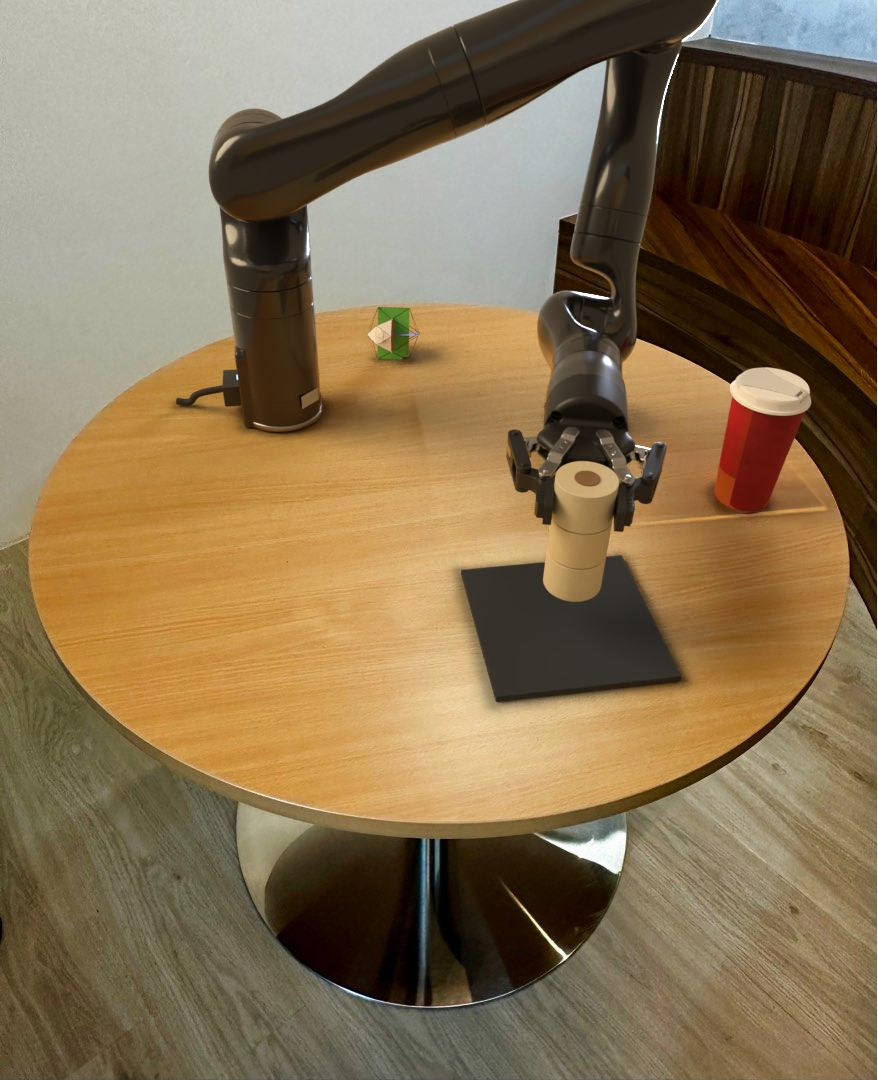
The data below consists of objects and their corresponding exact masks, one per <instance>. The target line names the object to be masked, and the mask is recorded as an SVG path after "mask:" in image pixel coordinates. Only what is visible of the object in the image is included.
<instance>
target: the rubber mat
mask: <svg viewBox="0 0 878 1080" xmlns="http://www.w3.org/2000/svg"><path fill="white" fill-rule="evenodd" d="M544 567H545V561H542V562H541V561H540V562H532V563H521V564H520V563H519V564H510V565H499V566H498V565H497V566H488V567H487V566H485V567H476V568H466V569H461V570H460V575H461V579H462V583H463V587H464V590H465V594H466V597H467V601H468V605H469V609H470V612H471V616H472V620H473V624H474V627H475V630H476V631H475V632H476V635H477V638H478V642H479V646H480V649H481V653H482V657H483V660H484V664H485V667H486V671H487V675H488V678H489V679H488V680H489V683H490V686H491V690H492V693H493V697H494V701H495V702H504V701H514V700H515V701H516V700H524V699H531V698H532V699H533V698H540V697H548V696H559V695H565V694H566V695H568V694H576V693H585V692H586V693H587V692H593V691H601V690H602V691H603V690H610V689H620V688H629V687H630V688H631V687H638V686H647V685H655V684H666V683H673V682H681V680H682V678H683V676H682V674H681V672H680V670H679V668H678V666H677V664H676V661H675V660H674V658H673V655H672V654H671V651H670V649H669V648H668V646H667V643H666V642H665V640H664V638H663V636H662V633H661V632H660V629H659V628H658V626H657V624H656V622H655V620H654V617H653V615H652V613H651V612H650V610H649V608H648V605H647V604H646V601H645V599H644V597H643V596H642V593H641V592H640V589H639V588H638V585H637V584H636V581H635V579H634V577H633V576H632V572H630V569H629V567H628V565H627V563H626V562H625V560H624V557H623V555H622V554H620V555H619V554H618V555H617V554H616V555H606V561H605V566H604V572H603V578H602V583H601V588H600V591H599V592H598V594H597V595H596V596H594V597H593V598H591V599H589V600H586V601H581V602H571V601H565V600H562V599H559V598H557V597H555V596H553V595H552V594H551V593H550V592H549V591H548V590H547V589H546V588H545V586H544V583H543V576H544Z"/></svg>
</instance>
